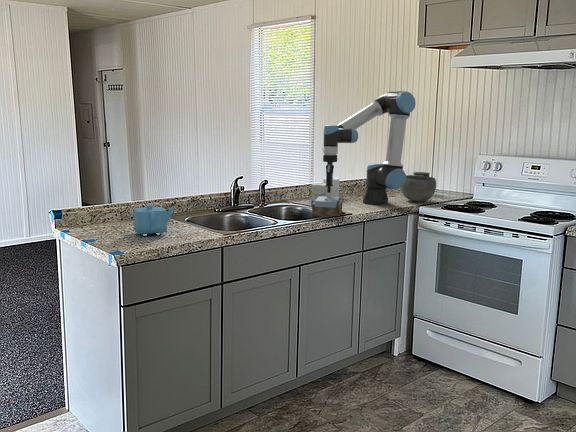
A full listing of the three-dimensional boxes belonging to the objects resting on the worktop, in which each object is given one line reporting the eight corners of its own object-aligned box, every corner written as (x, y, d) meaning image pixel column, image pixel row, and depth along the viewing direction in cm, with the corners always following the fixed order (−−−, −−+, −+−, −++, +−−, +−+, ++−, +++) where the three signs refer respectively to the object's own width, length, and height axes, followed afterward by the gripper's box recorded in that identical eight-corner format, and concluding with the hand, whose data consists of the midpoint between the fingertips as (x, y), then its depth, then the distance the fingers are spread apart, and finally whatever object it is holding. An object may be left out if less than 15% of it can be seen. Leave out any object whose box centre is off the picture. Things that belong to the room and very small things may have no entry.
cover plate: (339, 202, 302) (339, 195, 302) (336, 207, 287) (336, 199, 286) (318, 201, 304) (319, 194, 304) (314, 206, 289) (314, 199, 288)
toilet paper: (322, 198, 348) (322, 179, 345) (323, 195, 358) (323, 177, 356) (338, 199, 347) (339, 179, 344) (339, 196, 357) (339, 177, 354)
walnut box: (342, 211, 306) (342, 199, 305) (339, 217, 288) (339, 205, 287) (316, 209, 308) (316, 198, 307) (312, 215, 291) (312, 204, 290)
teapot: (138, 239, 235) (137, 208, 232) (133, 231, 249) (132, 202, 246) (181, 236, 242) (181, 206, 239) (173, 228, 256) (173, 200, 253)
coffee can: (426, 193, 377) (427, 172, 374) (429, 195, 366) (431, 173, 364) (410, 192, 377) (412, 171, 374) (413, 195, 367) (415, 173, 364)
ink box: (325, 205, 323) (326, 185, 321) (310, 204, 324) (311, 184, 322) (327, 203, 331) (328, 183, 329) (313, 202, 333) (313, 182, 331)
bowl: (397, 202, 336) (398, 177, 334) (403, 197, 355) (404, 174, 352) (432, 205, 329) (434, 179, 326) (437, 200, 348) (438, 175, 345)
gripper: (324, 153, 306) (323, 196, 311) (321, 155, 294) (320, 199, 298) (338, 153, 305) (337, 196, 309) (336, 155, 292) (334, 200, 297)
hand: (328, 198), depth 304 cm, fingers closed
